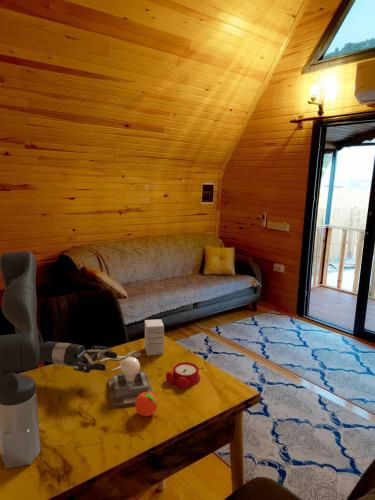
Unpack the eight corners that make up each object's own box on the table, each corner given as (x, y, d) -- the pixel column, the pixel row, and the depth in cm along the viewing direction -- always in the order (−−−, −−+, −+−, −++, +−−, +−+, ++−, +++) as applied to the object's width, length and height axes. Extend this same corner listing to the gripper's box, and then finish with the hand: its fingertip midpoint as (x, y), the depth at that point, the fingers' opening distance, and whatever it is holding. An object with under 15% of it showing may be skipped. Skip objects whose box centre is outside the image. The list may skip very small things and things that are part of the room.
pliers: (99, 358, 146) (131, 347, 155) (99, 362, 146) (131, 350, 156) (112, 368, 138) (145, 356, 148) (112, 372, 139) (145, 359, 149)
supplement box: (144, 347, 158) (144, 319, 155) (161, 346, 159) (161, 318, 157) (146, 356, 151) (146, 326, 148) (164, 354, 152) (164, 325, 150)
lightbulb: (121, 394, 122) (121, 362, 120) (119, 384, 128) (120, 354, 127) (140, 392, 124) (141, 361, 122) (138, 382, 130) (138, 353, 128)
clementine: (164, 413, 115) (165, 393, 113) (150, 425, 109) (150, 404, 108) (145, 404, 119) (145, 384, 118) (130, 415, 114) (130, 394, 112)
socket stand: (154, 402, 121) (154, 391, 120) (111, 408, 117) (110, 397, 116) (147, 376, 136) (147, 366, 135) (108, 381, 132) (107, 371, 131)
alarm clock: (207, 367, 136) (184, 375, 124) (204, 383, 136) (181, 394, 124) (184, 358, 142) (160, 365, 130) (182, 374, 142) (157, 383, 130)
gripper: (56, 354, 123) (100, 361, 118) (79, 336, 136) (120, 342, 132) (57, 374, 124) (101, 382, 120) (80, 355, 138) (120, 361, 133)
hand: (111, 361), depth 126 cm, fingers open, 8 cm apart
